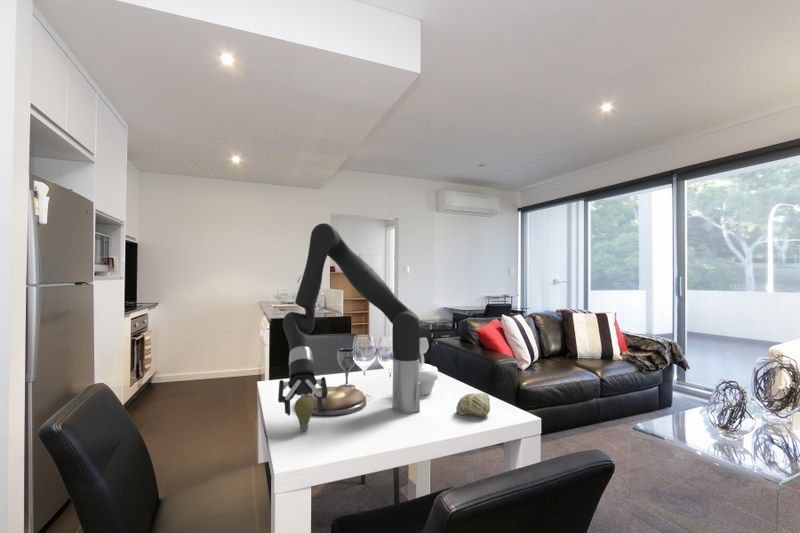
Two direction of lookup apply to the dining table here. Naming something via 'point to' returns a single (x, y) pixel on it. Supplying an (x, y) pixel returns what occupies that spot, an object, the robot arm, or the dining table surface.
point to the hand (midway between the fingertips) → (304, 412)
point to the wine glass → (346, 363)
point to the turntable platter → (339, 398)
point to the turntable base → (340, 412)
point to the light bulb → (304, 411)
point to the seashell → (474, 404)
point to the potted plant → (426, 370)
